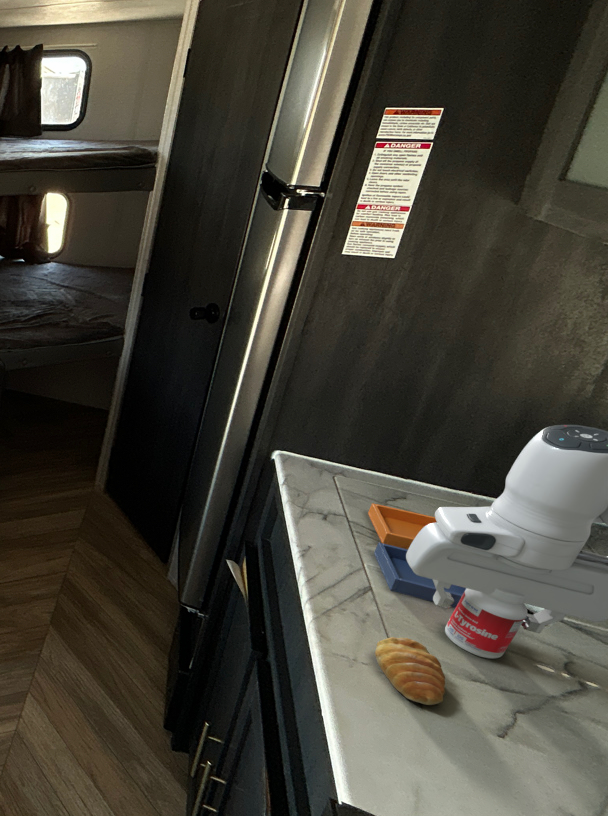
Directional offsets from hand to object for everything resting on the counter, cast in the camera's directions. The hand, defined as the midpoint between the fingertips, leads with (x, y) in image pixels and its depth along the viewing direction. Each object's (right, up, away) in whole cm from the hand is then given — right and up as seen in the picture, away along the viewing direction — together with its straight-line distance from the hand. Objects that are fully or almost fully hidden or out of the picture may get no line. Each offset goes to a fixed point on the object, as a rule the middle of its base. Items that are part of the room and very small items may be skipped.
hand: (483, 616), depth 90 cm
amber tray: (+13, +5, +24) cm, 27 cm away
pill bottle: (0, -5, +2) cm, 5 cm away
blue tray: (+5, 0, +13) cm, 14 cm away
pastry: (-14, -7, -4) cm, 16 cm away
